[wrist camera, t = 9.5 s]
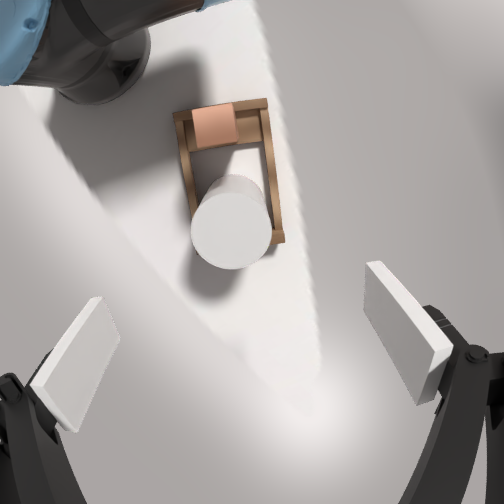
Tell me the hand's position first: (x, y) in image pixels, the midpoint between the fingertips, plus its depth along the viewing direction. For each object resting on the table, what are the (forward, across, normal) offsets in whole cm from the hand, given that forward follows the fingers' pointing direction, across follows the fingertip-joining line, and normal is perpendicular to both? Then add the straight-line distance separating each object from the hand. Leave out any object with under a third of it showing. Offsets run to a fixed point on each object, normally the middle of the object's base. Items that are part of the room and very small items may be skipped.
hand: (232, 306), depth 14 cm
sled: (+28, -1, +2) cm, 29 cm away
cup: (+29, -1, -2) cm, 29 cm away
